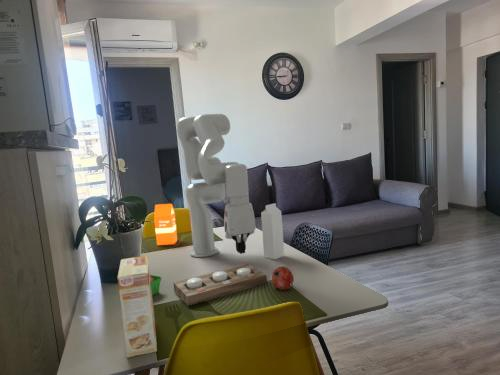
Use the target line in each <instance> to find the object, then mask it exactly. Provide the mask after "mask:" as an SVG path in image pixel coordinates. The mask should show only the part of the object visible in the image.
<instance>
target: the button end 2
mask: <svg viewBox="0 0 500 375" xmlns="http://www.w3.org/2000/svg"><path fill="white" fill-rule="evenodd" d="M248 274H251V270H250V269H249V268H241V269H238V270H237V275H238V276H240V277H241V276H244V275H248Z"/></svg>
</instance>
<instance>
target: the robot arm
mask: <svg viewBox="0 0 500 375" xmlns="http://www.w3.org/2000/svg"><path fill="white" fill-rule="evenodd" d="M230 123H231V122H230V120H229V118H228V117H227V115H225V114H223V113H212V114H211V113H209V114H208V113H207V114H200V115H198V116H186V117H182V118H180V119H179V120H178V121H177V125H176V130H177V136H178V139H179V141H180V144H181V145H182V146H181V147H182V149H183V156H184V164H185V170H186V175H187V178H188V179H189V180H192V181H198V180H199V181H200V180H204V182H203V181H202V182H196V183H192V184H189V185H187V187H186V189H185V197H186V202H187V205H188V211H189V218H190V219H189V220H190V227H191V238H192V250H190V252H189V255H190V256H191V257H194V258H207V257H212V256H215V255H217V254H218V253H219V248H218V247H217V246H216V247H215V235H214V225H213V224H214V223H213V215H212V211H211V210H210V209H209V208H208V207H207V206H206V205H207V204H211V203H212V204H213V203H219V202H222V201H223V203H224V204H226V205H225V207H224V216H223V221H224V222H223V224H224V225H223V226H224V232H225V239H228V240H233V241H235V250H236V253H239V254H240V255H241V254H246V249H247V245H246V244H247V243H246V242H247V240H248V238H249V236H250V235H254V233H255V231H256V219H255V218H256V217H255V212H254V209H253V205H252V203H251V202H250V197H249V196H250V195H249V180H248V179H249V178H248V176H249V175H248V167H247V165H246V164H243V163H239V162H236V161H229V162H228V161H227V162H222V161H221V159H220V158H218V157H217V156H215V155H217V154H218V153H220V152H221V151H223V149H224V147H225V139H224V138H223V136H227V135H228V134H229V132H230V130H231V124H230Z"/></svg>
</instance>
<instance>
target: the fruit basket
mask: <svg viewBox="0 0 500 375" xmlns="http://www.w3.org/2000/svg"><path fill="white" fill-rule="evenodd" d="M161 280H162V277H161V276H158V275H154V274H150V281H151V291H152V296H153V295H156V294H159V292H160V286H161Z"/></svg>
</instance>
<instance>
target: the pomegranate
mask: <svg viewBox="0 0 500 375" xmlns="http://www.w3.org/2000/svg"><path fill="white" fill-rule="evenodd" d="M294 278H295V277H294V274H293V272H292V270H291V269H289V267H287V266H286V265H285V266H284V265H282V266H279V267H277V268H276V269H274V270H273V272H272V275H271V284H272V285H273V286H274V287H275V288H276V289H278V290H280V291H287V290H289V289H290V288H291V287H292V286H291V285H293V282H294V280H295V279H294Z"/></svg>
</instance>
